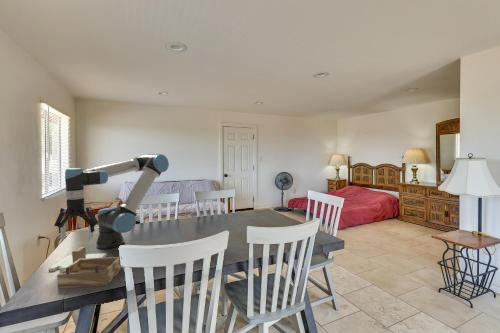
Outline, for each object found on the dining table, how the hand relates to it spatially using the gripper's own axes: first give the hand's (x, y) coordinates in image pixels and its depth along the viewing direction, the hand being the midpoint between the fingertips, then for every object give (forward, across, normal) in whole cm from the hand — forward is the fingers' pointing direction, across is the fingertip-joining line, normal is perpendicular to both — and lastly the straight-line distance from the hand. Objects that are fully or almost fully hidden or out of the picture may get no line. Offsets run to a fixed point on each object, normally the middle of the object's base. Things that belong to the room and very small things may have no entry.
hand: (77, 238), depth 132 cm
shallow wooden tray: (+13, +15, -17) cm, 26 cm away
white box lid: (+13, 0, 0) cm, 13 cm away
